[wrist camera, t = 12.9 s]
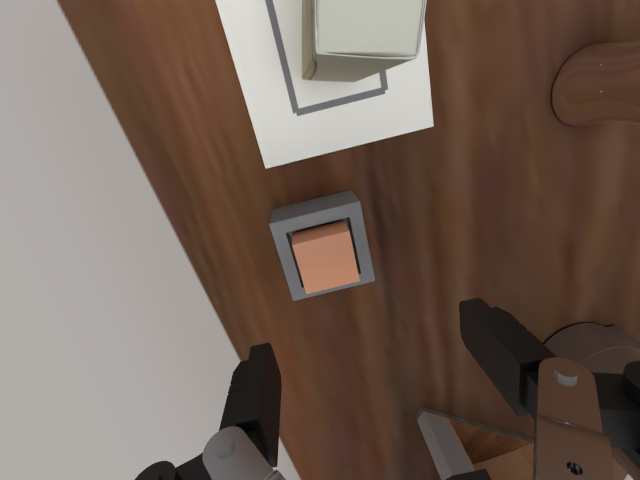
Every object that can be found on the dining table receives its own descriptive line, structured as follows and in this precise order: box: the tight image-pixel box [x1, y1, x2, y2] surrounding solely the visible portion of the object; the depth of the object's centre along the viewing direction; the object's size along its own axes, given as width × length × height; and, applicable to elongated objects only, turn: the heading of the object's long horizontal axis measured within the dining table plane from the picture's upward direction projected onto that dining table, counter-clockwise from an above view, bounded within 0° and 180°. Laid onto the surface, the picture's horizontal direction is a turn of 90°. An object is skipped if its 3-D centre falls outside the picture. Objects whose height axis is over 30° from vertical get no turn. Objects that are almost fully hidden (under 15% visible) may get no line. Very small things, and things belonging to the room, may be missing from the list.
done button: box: [292, 220, 360, 294], centre depth 24 cm, size 4×4×2 cm
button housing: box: [269, 190, 375, 301], centre depth 27 cm, size 7×7×4 cm
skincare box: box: [302, 0, 427, 82], centre depth 17 cm, size 6×4×12 cm
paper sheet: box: [215, 0, 434, 169], centre depth 23 cm, size 14×16×1 cm
